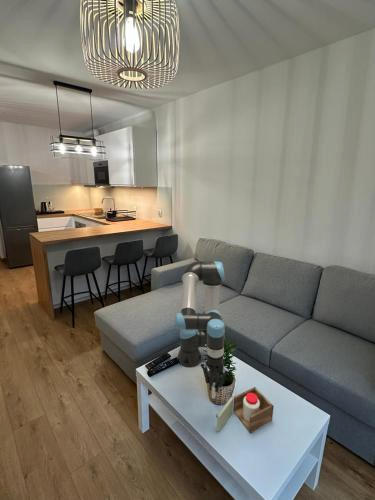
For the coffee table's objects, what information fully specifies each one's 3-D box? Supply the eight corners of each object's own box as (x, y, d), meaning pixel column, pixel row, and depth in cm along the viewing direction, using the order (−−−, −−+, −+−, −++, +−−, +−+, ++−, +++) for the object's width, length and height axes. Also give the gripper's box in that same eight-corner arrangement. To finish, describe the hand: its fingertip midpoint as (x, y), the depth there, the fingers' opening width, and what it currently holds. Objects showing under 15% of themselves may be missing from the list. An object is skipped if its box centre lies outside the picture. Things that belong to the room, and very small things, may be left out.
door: (228, 409, 132) (229, 395, 130) (232, 411, 131) (233, 397, 128) (214, 428, 122) (215, 414, 119) (219, 431, 120) (219, 417, 118)
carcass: (233, 411, 131) (233, 396, 129) (253, 400, 137) (255, 386, 134) (250, 433, 120) (251, 417, 117) (272, 420, 126) (273, 405, 123)
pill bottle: (246, 405, 133) (248, 388, 130) (261, 414, 128) (262, 396, 125) (239, 416, 127) (240, 398, 124) (254, 425, 123) (255, 407, 119)
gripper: (198, 354, 115) (198, 397, 122) (227, 362, 110) (225, 406, 117) (204, 345, 122) (203, 386, 128) (231, 351, 117) (229, 394, 123)
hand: (213, 396), depth 122 cm, fingers closed
